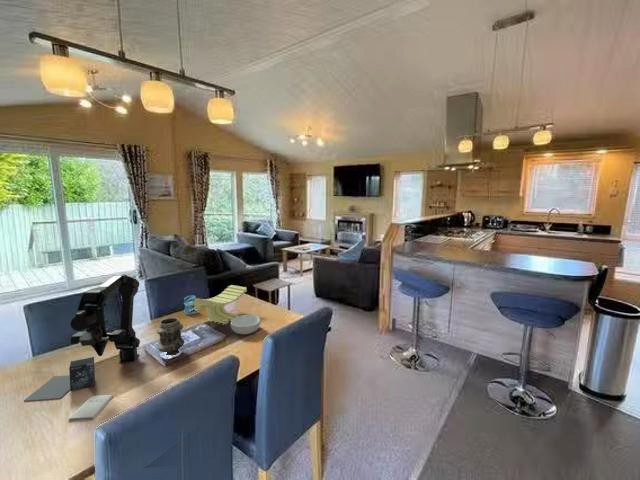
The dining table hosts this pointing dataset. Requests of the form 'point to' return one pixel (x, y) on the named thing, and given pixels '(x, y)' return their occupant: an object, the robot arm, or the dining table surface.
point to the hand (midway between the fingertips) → (100, 355)
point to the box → (82, 373)
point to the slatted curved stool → (220, 304)
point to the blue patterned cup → (189, 305)
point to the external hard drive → (91, 408)
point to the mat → (52, 389)
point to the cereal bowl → (245, 324)
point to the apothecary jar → (170, 336)
